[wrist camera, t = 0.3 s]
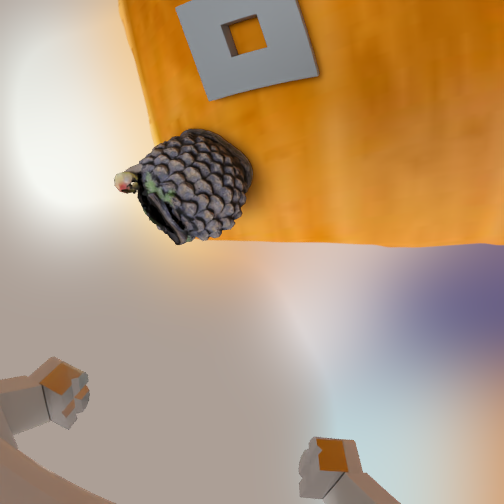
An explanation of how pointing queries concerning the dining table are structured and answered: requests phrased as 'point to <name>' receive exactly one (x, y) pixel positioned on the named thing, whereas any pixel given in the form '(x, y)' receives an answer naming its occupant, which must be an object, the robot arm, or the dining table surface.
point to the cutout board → (252, 63)
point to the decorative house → (190, 185)
